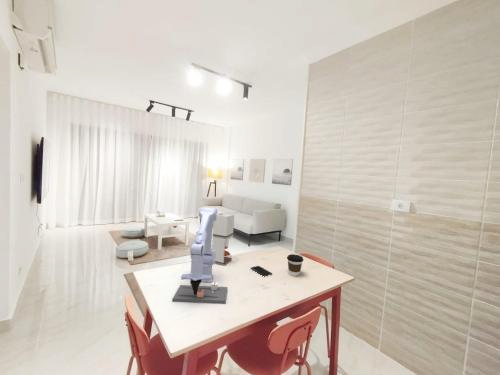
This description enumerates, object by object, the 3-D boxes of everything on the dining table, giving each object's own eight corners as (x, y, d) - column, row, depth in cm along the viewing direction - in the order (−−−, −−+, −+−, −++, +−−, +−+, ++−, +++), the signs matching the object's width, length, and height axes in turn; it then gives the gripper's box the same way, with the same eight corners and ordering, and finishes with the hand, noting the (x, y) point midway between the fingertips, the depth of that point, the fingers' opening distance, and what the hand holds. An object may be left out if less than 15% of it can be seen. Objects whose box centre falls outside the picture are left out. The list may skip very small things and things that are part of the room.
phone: (263, 276, 145) (249, 267, 157) (263, 277, 145) (249, 269, 157) (273, 273, 150) (258, 265, 162) (272, 275, 150) (258, 267, 162)
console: (180, 287, 125) (180, 284, 125) (227, 289, 126) (227, 286, 126) (172, 301, 111) (172, 298, 111) (225, 303, 112) (225, 300, 112)
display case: (224, 265, 159) (227, 216, 158) (211, 263, 163) (213, 214, 161) (231, 260, 170) (234, 214, 168) (218, 258, 174) (221, 212, 172)
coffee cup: (295, 279, 144) (296, 261, 144) (282, 273, 153) (283, 255, 152) (305, 275, 152) (307, 257, 151) (292, 269, 160) (293, 253, 159)
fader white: (211, 287, 124) (212, 281, 124) (217, 287, 124) (217, 282, 124) (211, 289, 121) (211, 284, 121) (216, 290, 121) (217, 284, 121)
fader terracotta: (198, 294, 116) (198, 288, 116) (204, 294, 116) (204, 288, 116) (197, 297, 113) (197, 291, 113) (203, 297, 113) (203, 291, 113)
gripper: (180, 269, 110) (178, 297, 110) (210, 271, 110) (208, 298, 111) (183, 264, 117) (182, 289, 117) (212, 265, 117) (210, 291, 118)
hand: (195, 293), depth 114 cm, fingers closed
